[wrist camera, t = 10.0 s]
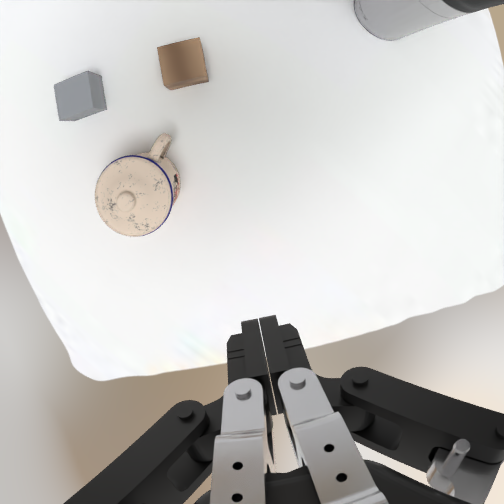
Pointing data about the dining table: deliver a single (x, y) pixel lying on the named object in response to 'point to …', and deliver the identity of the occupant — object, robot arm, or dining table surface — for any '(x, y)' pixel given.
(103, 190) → the teacup with lid
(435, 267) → the dining table surface
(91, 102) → the slate-grey block
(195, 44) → the walnut block
